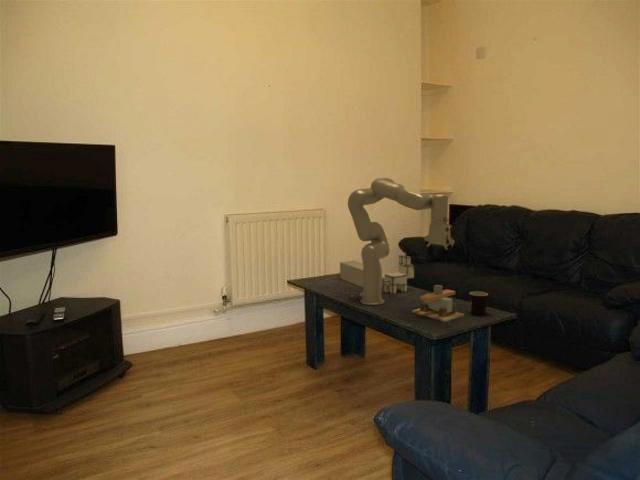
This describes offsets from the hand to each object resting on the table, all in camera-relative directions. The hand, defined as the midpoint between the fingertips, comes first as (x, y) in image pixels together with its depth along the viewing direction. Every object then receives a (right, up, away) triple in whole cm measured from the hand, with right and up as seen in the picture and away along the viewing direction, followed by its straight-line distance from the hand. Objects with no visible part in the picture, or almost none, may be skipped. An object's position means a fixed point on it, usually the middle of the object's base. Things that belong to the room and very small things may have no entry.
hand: (438, 256), depth 243 cm
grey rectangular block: (-31, -19, +73) cm, 82 cm away
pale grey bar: (0, -26, +4) cm, 26 cm away
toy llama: (-12, -22, +49) cm, 55 cm away
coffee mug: (+21, -28, +5) cm, 35 cm away
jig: (+1, -28, +4) cm, 28 cm away
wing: (0, -21, +3) cm, 21 cm away
